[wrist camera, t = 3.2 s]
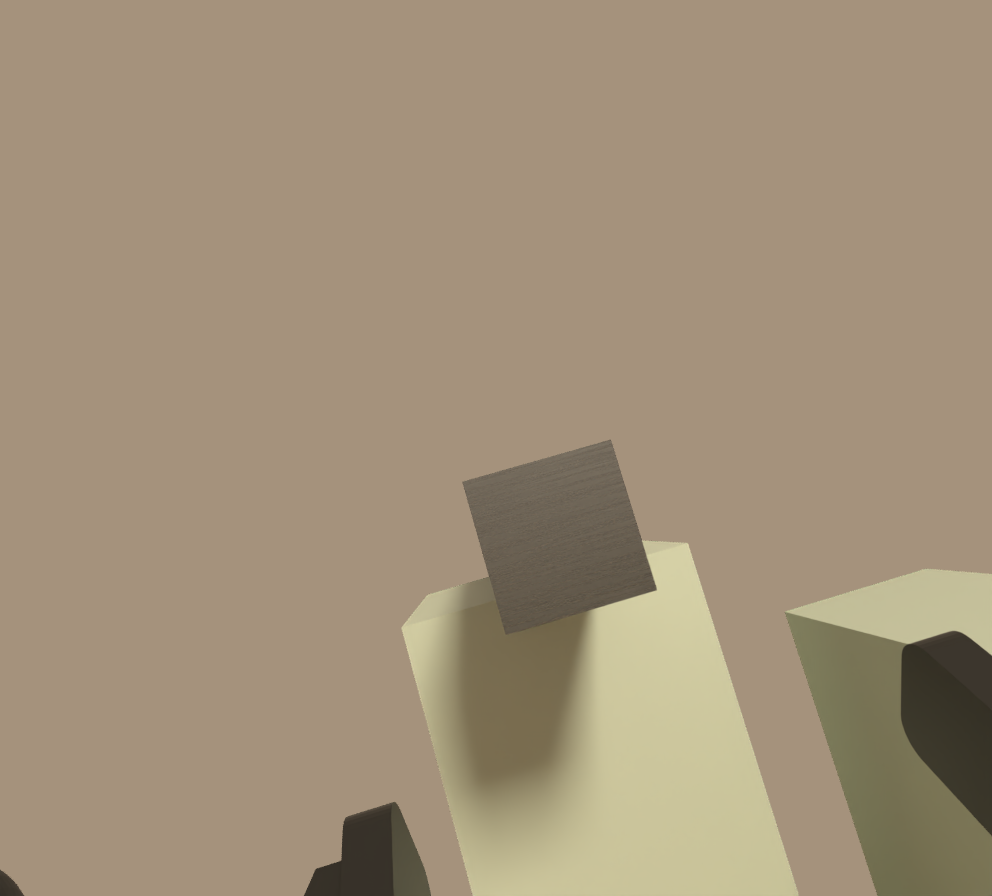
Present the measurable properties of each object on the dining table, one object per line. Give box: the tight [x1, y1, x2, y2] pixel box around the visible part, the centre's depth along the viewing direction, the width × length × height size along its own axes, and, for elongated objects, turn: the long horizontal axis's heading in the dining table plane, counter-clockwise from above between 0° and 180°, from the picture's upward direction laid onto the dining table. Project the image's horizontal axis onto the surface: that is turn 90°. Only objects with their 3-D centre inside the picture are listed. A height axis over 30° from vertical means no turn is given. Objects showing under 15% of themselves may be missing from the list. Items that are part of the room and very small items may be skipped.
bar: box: [463, 440, 657, 635], centre depth 27 cm, size 4×24×4 cm, turn 2°
